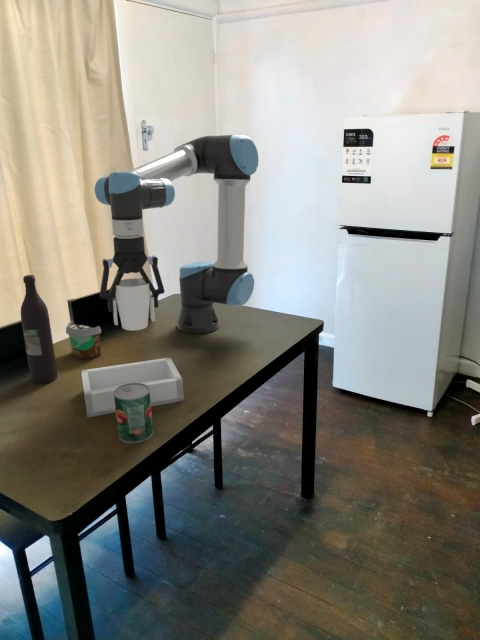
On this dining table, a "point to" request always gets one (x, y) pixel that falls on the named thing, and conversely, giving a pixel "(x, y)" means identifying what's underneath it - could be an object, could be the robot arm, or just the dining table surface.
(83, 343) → the food container
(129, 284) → the cup
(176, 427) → the dining table surface
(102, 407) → the bin
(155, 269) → the robot arm
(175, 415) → the dining table surface
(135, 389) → the canned tomato
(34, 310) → the wine bottle
